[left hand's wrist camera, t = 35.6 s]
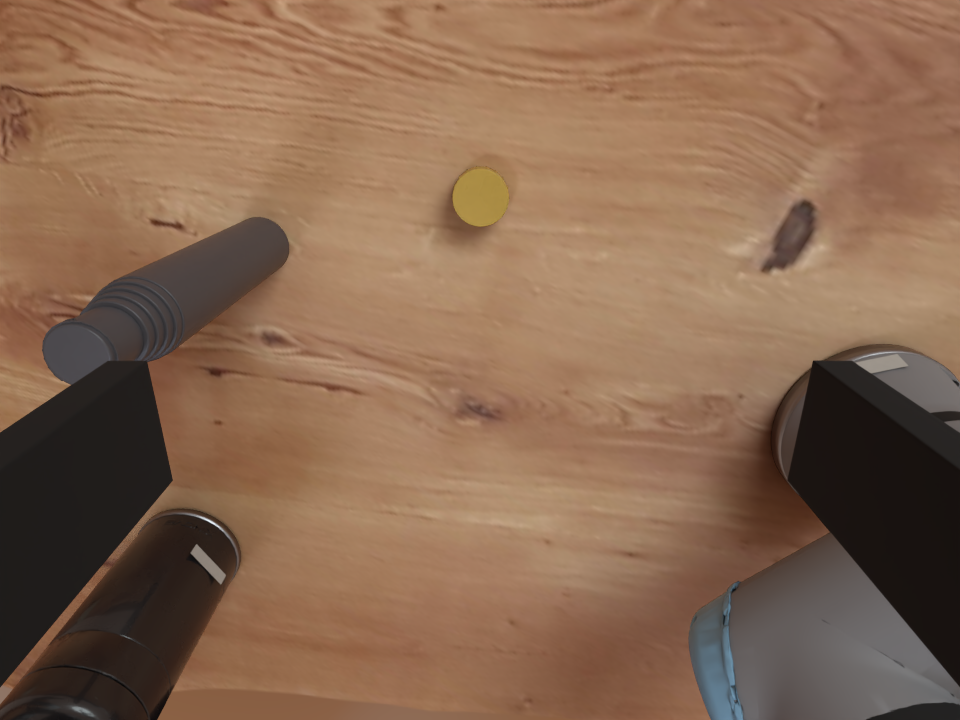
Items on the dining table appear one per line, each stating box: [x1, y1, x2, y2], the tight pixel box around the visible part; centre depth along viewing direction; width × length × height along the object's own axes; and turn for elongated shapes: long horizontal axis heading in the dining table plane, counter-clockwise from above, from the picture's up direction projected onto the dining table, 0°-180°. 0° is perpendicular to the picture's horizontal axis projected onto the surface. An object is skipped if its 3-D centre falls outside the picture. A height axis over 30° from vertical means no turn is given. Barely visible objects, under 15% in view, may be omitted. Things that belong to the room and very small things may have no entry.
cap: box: [452, 166, 509, 227], centre depth 45 cm, size 4×4×2 cm
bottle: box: [42, 217, 289, 385], centre depth 37 cm, size 4×4×23 cm
